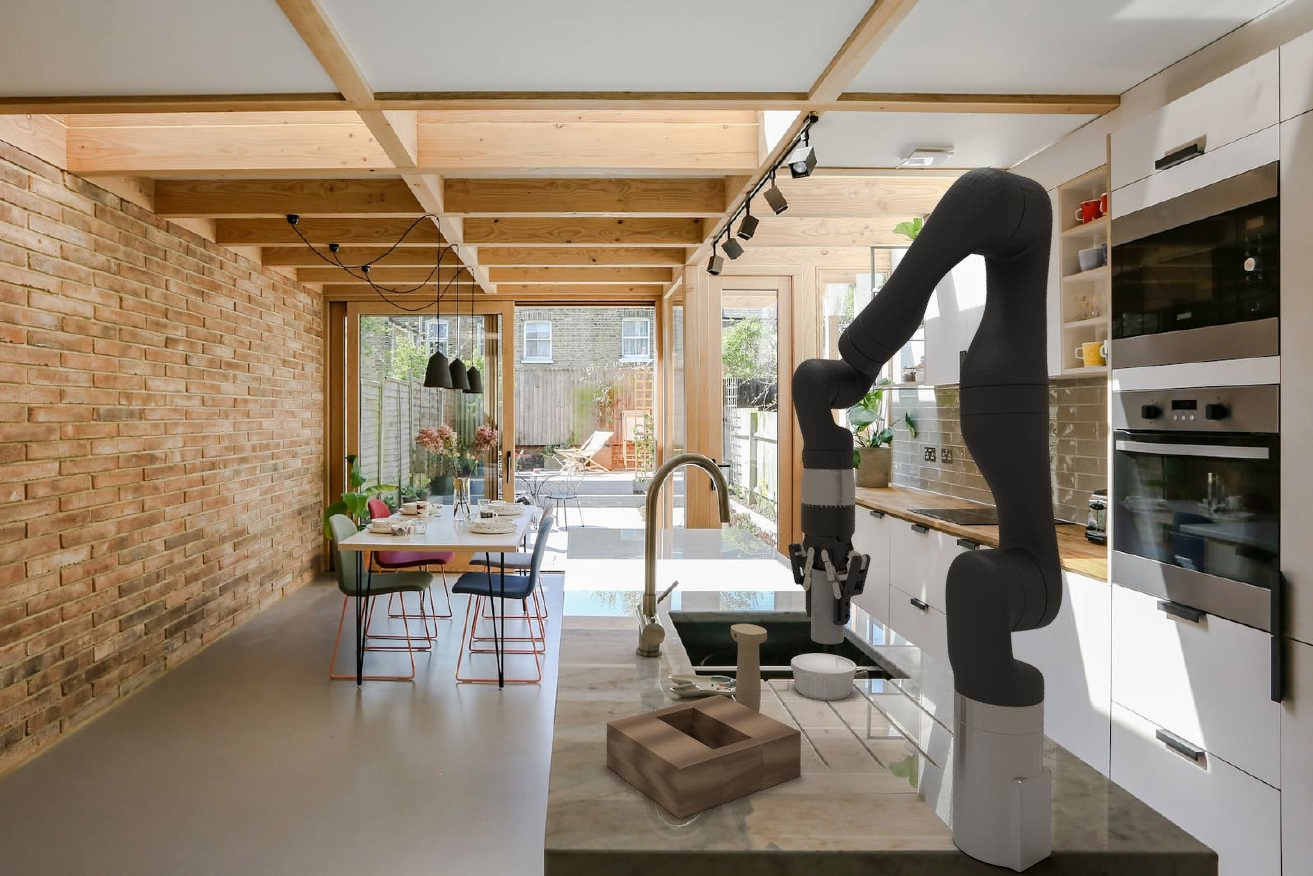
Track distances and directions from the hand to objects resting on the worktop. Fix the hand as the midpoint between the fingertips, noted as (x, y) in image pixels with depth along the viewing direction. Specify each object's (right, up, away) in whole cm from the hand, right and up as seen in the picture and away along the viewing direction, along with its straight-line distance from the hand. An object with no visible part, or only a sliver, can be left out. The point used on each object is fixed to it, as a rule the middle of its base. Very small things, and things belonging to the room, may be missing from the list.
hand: (827, 620), depth 110 cm
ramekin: (+5, -19, +27) cm, 33 cm away
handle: (-10, -19, +11) cm, 24 cm away
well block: (-18, -19, -5) cm, 27 cm away
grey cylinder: (0, -3, 0) cm, 3 cm away
